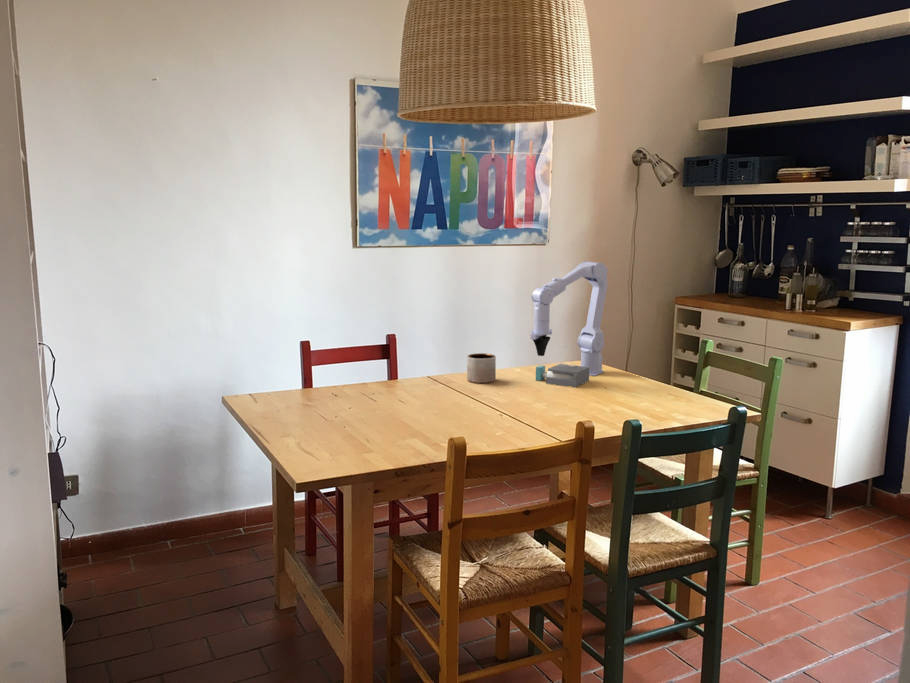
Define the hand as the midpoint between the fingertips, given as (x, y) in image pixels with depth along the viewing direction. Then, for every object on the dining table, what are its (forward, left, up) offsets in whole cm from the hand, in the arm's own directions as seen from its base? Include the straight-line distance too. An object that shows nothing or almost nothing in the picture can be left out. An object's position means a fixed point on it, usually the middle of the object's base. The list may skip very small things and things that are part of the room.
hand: (540, 355), depth 301 cm
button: (-5, +10, -6) cm, 13 cm away
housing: (-1, +10, -9) cm, 14 cm away
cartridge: (0, +7, -9) cm, 11 cm away
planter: (+13, -19, -10) cm, 25 cm away
